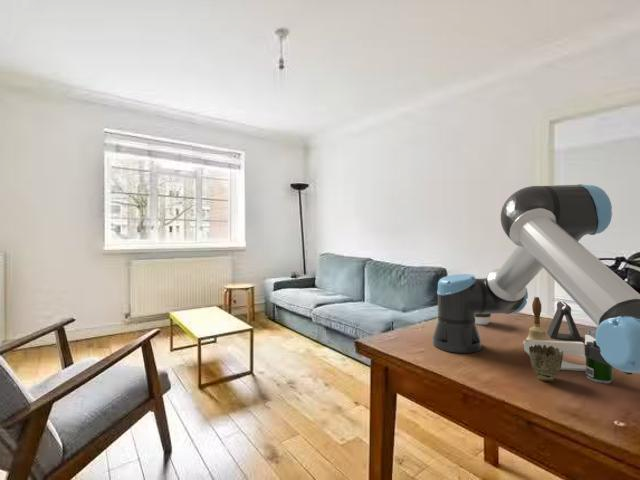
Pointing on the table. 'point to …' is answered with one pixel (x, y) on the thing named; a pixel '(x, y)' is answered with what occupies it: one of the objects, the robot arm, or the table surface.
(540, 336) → the hand bell
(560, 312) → the phone stand
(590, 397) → the table surface
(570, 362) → the tray
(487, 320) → the coffee cup
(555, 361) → the cup
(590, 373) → the beer can
